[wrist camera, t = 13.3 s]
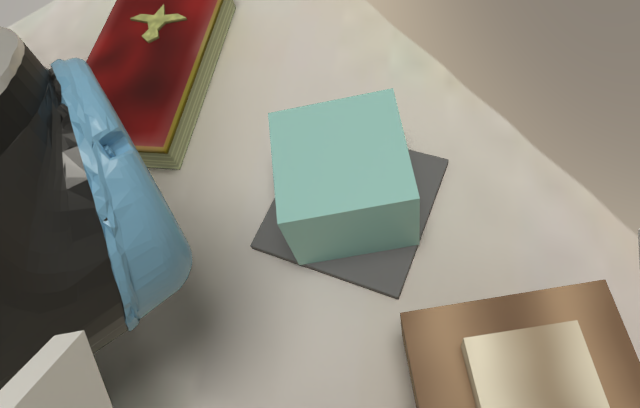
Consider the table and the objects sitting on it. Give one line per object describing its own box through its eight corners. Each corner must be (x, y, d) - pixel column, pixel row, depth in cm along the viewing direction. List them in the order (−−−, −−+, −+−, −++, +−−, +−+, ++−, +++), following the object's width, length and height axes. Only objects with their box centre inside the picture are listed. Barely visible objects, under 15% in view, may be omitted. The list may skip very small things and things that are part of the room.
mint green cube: (299, 265, 38) (277, 224, 32) (289, 165, 43) (268, 113, 37) (419, 244, 38) (419, 198, 32) (396, 145, 42) (392, 88, 36)
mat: (252, 248, 40) (250, 245, 40) (312, 128, 45) (311, 125, 44) (398, 299, 36) (398, 297, 36) (448, 163, 41) (448, 159, 41)
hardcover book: (67, 168, 48) (39, 142, 44) (140, 9, 57) (122, -23, 54) (184, 176, 45) (164, 149, 42) (241, 8, 55) (228, -26, 51)
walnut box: (439, 521, 30) (444, 530, 24) (402, 334, 35) (399, 302, 29) (653, 494, 29) (716, 496, 23) (581, 305, 34) (616, 266, 28)
